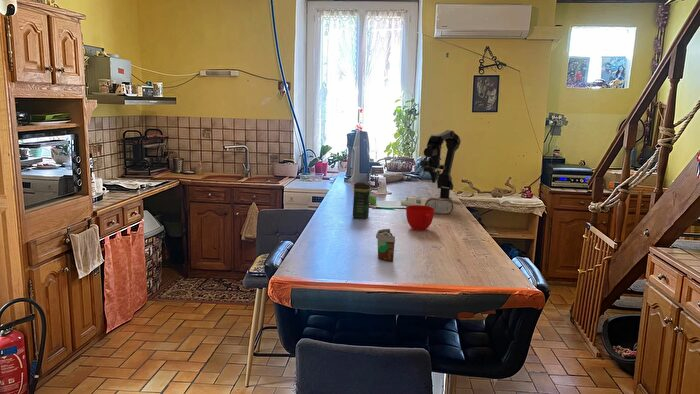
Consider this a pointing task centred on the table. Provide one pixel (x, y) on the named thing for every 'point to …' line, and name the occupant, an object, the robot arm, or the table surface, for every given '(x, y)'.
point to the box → (410, 203)
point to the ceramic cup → (419, 216)
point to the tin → (440, 205)
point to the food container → (385, 245)
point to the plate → (418, 199)
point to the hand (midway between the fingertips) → (433, 182)
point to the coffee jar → (361, 199)
